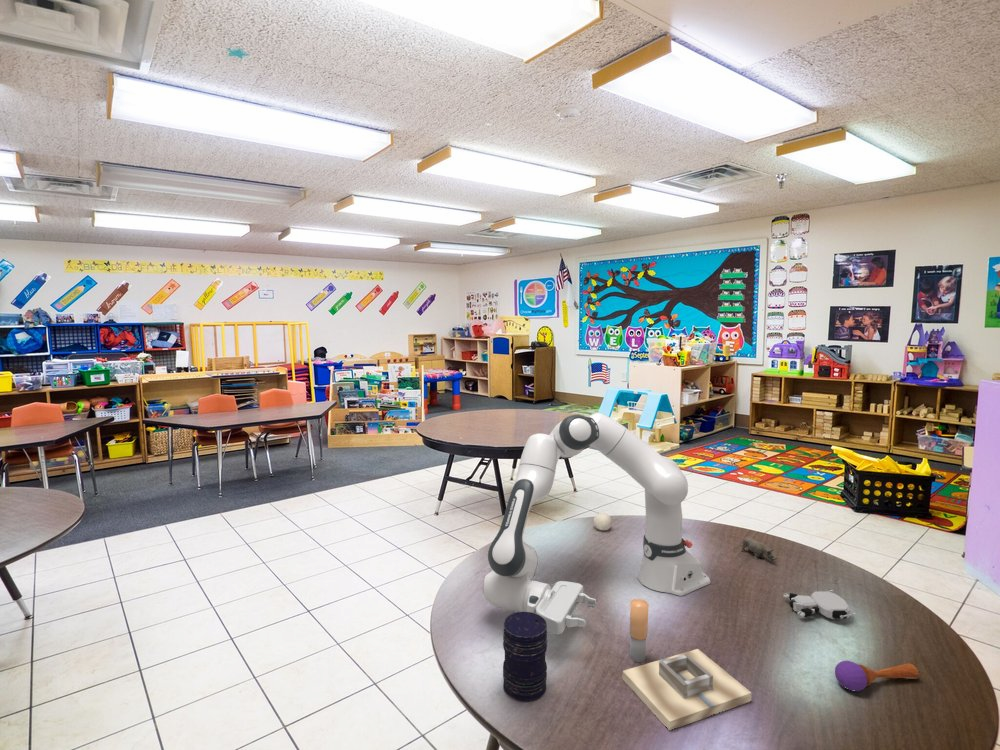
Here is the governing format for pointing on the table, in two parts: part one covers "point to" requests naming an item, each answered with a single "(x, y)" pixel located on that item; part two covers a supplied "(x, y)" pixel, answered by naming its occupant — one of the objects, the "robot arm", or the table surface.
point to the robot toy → (820, 605)
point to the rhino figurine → (757, 548)
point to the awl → (638, 629)
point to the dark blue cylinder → (525, 656)
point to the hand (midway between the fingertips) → (590, 612)
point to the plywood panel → (685, 688)
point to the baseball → (602, 521)
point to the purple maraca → (869, 674)
